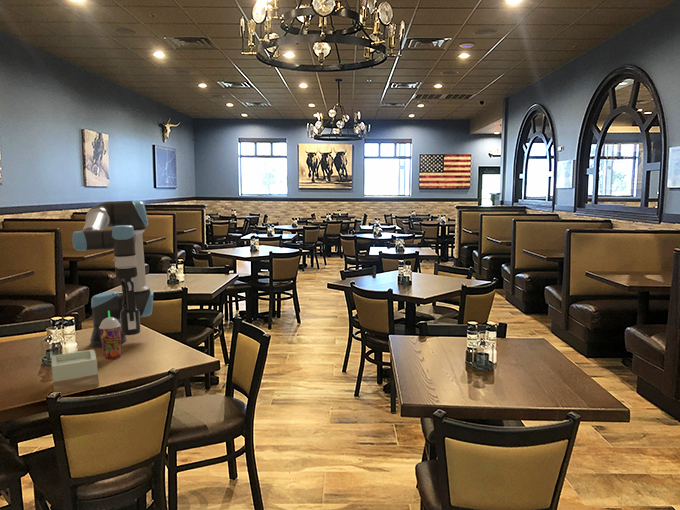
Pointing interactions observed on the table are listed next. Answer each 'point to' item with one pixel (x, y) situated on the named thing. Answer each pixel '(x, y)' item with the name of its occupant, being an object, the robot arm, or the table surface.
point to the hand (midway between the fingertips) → (130, 326)
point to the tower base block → (76, 384)
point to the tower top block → (74, 365)
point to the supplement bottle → (125, 321)
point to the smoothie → (110, 337)
